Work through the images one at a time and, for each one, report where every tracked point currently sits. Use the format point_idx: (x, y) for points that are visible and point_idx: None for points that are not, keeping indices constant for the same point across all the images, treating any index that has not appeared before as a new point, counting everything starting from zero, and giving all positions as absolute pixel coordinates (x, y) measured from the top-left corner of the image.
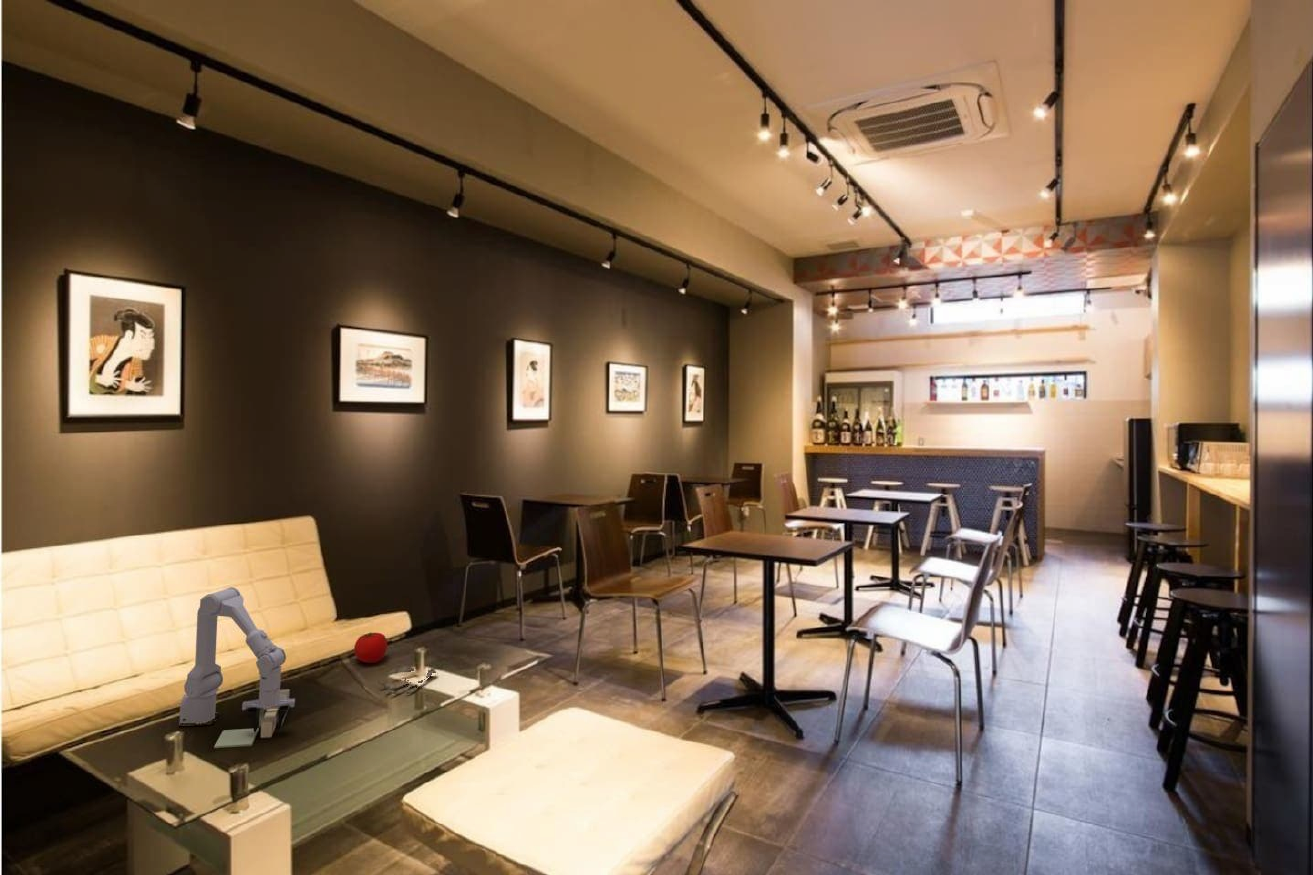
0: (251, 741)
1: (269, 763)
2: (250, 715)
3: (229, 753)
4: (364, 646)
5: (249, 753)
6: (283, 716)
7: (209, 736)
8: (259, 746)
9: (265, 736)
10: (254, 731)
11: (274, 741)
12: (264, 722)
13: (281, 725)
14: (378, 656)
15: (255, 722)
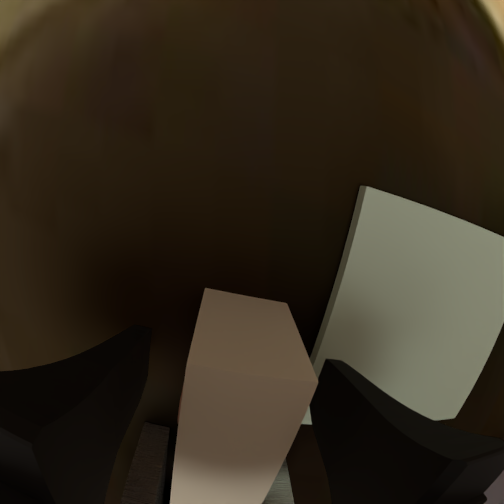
0: (365, 229)
1: None
2: (475, 441)
3: (475, 134)
4: None
5: (372, 63)
6: (29, 370)
7: (496, 378)
8: (303, 143)
9: (250, 300)
10: (338, 360)
11: (180, 192)
12: (282, 380)
13: (146, 422)
14: None
15: (370, 402)
